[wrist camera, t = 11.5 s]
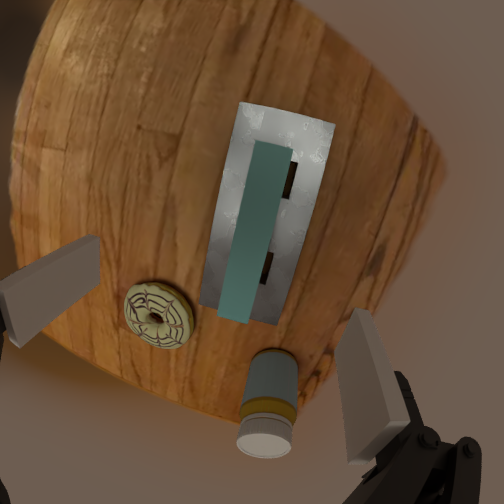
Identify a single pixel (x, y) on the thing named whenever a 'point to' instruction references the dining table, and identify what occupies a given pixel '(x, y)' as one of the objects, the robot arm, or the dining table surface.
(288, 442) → the bottle
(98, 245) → the robot arm
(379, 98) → the dining table surface
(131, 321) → the decorated donut
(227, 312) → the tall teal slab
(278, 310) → the slotted metal plate
